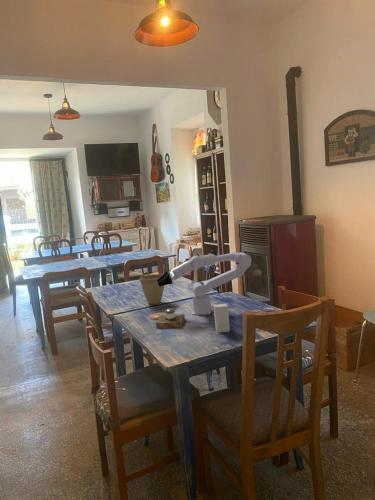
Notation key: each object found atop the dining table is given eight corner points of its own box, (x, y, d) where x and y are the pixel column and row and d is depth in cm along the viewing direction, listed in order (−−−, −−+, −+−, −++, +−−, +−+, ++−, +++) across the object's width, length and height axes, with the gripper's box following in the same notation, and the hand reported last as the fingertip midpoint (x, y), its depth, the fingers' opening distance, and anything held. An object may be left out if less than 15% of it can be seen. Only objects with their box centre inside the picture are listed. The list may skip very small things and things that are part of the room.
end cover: (176, 321, 189) (175, 308, 188) (175, 325, 184) (174, 311, 183) (167, 321, 190) (165, 308, 189) (165, 325, 185) (163, 311, 184)
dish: (168, 313, 203) (167, 312, 203) (164, 319, 194) (164, 318, 194) (151, 314, 204) (151, 313, 204) (147, 319, 196) (147, 318, 195)
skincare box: (228, 328, 174) (226, 303, 172) (230, 332, 170) (228, 305, 168) (215, 330, 174) (213, 304, 172) (216, 333, 169) (215, 307, 168)
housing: (184, 319, 192) (184, 314, 192) (181, 327, 180) (180, 322, 180) (161, 319, 194) (161, 315, 194) (156, 327, 182) (156, 322, 182)
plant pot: (171, 302, 224) (169, 276, 222) (148, 307, 217) (145, 280, 215) (160, 297, 237) (158, 272, 235) (138, 302, 230) (135, 276, 228)
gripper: (176, 261, 203) (153, 274, 202) (178, 266, 189) (155, 279, 188) (182, 273, 204) (160, 285, 204) (185, 278, 190) (161, 291, 189)
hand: (158, 283), depth 196 cm, fingers open, 7 cm apart
